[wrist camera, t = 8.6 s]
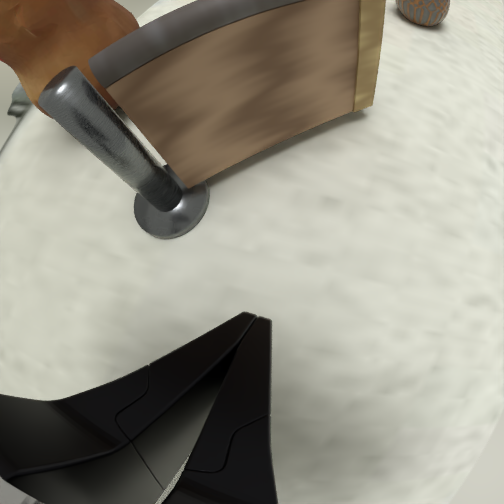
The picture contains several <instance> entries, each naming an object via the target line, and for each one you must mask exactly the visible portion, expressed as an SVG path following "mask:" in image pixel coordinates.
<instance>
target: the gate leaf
mask: <svg viewBox="0 0 504 504" xmlns="http://www.w3.org/2000/svg"><path fill="white" fill-rule="evenodd" d="M385 3H386V0H197V1H194V2H192V3H190V4H187V5H185V6H183V7H180V8H178V9H176V10H174V11H172V12H170V13H167V14H165V15H163V16H161V17H159V18H157V19H155V20H153V21H151V22H149V23H148V24H146V25H144V26H142V27H140V28H138V29H136V30H135V31H133V32H131V33H129V34H128V35H126V36H124V37H123V38H121V39H119V40H118V41H116V42H114V43H113V44H111V45H110V46H108V47H106V48H105V49H103V50H102V51H100V52H99V53H97V54H96V55H94V56H93V57H91V58H90V59H89V60H88V63H89V66H90V69H91V71H92V73H93V75H94V76H95V78H96V79H97V81H98V82H99V83H100V84H101V85H102V86H103V87H104V88H105V89H106V90H107V92H108V93H109V94H110V95H111V96H112V98H113V99H114V100H115V101H116V102H117V104H118V105H119V106H120V107H121V108H122V110H123V111H124V112H125V113H126V115H127V116H128V117H129V118H130V119H131V121H132V122H133V123H134V124H135V125H136V127H137V128H138V129H139V130H140V131H141V133H142V134H143V135H144V136H145V137H146V139H147V140H148V141H149V142H150V143H151V145H152V146H153V147H154V148H155V149H156V151H157V152H158V153H159V154H160V155H161V157H162V158H163V159H164V160H165V161H166V163H167V164H168V165H169V166H170V167H171V169H172V170H173V171H174V172H175V173H176V175H177V176H178V177H179V178H180V179H181V181H182V182H183V183H184V184H185V185H186V186H187V188H188V189H189V188H191V187H193V186H194V185H196V184H198V183H200V182H202V181H204V180H206V179H207V178H209V177H211V176H213V175H215V174H217V173H219V172H221V171H223V170H225V169H227V168H229V167H231V166H232V165H234V164H236V163H238V162H240V161H242V160H244V159H246V158H248V157H251V156H253V155H255V154H257V153H259V152H261V151H263V150H265V149H267V148H269V147H271V146H273V145H276V144H278V143H280V142H282V141H284V140H286V139H289V138H291V137H293V136H295V135H298V134H300V133H302V132H304V131H307V130H309V129H311V128H313V127H316V126H318V125H320V124H323V123H325V122H328V121H330V120H332V119H335V118H337V117H340V116H342V115H345V114H347V113H350V112H352V111H353V112H357V111H359V110H362V109H364V108H367V107H370V106H372V105H373V99H374V93H375V87H376V81H377V74H378V67H379V60H380V52H381V44H382V35H383V25H384V15H385Z"/></svg>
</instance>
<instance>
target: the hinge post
mask: <svg viewBox="0 0 504 504" xmlns="http://www.w3.org/2000/svg"><path fill="white" fill-rule="evenodd" d="M38 104H39V106H40V107H42V108H43V109H44V110H45V111H46V112H47V113H48V114H49V115H50V116H51V117H52V118H54V119H55V120H56V121H57V122H58V123H59V124H60V125H61V126H62V127H63V128H65V129H66V130H67V131H68V132H69V133H70V134H71V135H72V136H73V137H75V138H76V139H77V140H78V141H79V142H80V143H81V144H82V145H84V146H85V147H86V148H87V149H88V150H89V151H90V152H91V153H93V154H94V155H95V156H96V157H97V158H98V159H99V160H101V161H102V162H103V163H104V164H105V165H106V166H107V167H109V168H110V169H111V170H112V171H113V172H114V173H115V174H117V175H118V176H119V177H120V178H121V179H122V180H123V181H125V182H126V183H127V184H128V185H129V186H130V187H132V188H133V189H134V190H135V191H136V192H137V194H136V197H135V202H134V214H135V218H136V220H137V222H138V224H139V225H140V227H141V228H142V229H144V230H145V231H146V232H148V233H149V234H151V235H152V236H154V237H157V238H161V239H171V238H176V237H179V236H181V235H183V234H185V233H187V232H188V231H190V230H191V229H192V228H194V227H195V226H196V225H197V224H198V222H199V221H200V220H201V219H202V217H203V215H204V214H205V211H206V209H207V206H208V202H209V188H208V185H207V182H206V180H204V181H202V182H200V183H198V184H196V185H194V186H193V187H191V188H189V189H188V188H187V186H186V185H185V184H184V183H183V182H182V181H181V179H180V178H179V177H178V176H177V175H176V173H175V172H174V171H173V170H172V169H171V167H170V166H169V165H168V164H167V165H164V166H162V165H161V164H160V163H159V162H158V161H157V159H156V158H155V157H154V156H153V155H152V154H151V153H150V151H149V150H148V149H147V148H146V147H145V146H144V145H143V143H142V142H141V141H140V140H139V139H138V138H137V136H136V135H135V134H134V133H133V132H132V131H131V130H130V128H129V127H128V126H127V125H126V124H125V123H124V121H123V120H122V119H121V118H120V117H119V116H118V114H117V113H116V112H115V111H114V110H113V109H112V108H111V106H110V105H109V104H108V103H107V102H106V101H105V99H104V98H103V97H102V96H101V95H100V94H99V92H98V91H97V90H96V89H95V88H94V87H93V85H92V84H91V83H90V82H89V81H88V79H87V78H86V77H85V76H84V75H83V74H82V72H81V71H80V70H79V69H78V68H77V67H76V66H70V67H67V68H65V69H64V70H62V71H61V72H59V73H58V74H57V75H56V76H55V77H54V78H52V79H51V81H50V82H49V83H48V84H47V85H46V86H45V88H44V89H43V91H42V92H41V94H40V96H39V99H38Z"/></svg>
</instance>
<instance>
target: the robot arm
mask: <svg viewBox="0 0 504 504" xmlns="http://www.w3.org/2000/svg"><path fill="white" fill-rule="evenodd" d="M271 373H272V320H271V319H268V318H264V317H261V316H259V317H258V316H257V315H255V314H252V313H249V312H242V313H240V314H239V315H237V316H235V317H233V318H232V319H230V320H228V321H226V322H225V323H223V324H221V325H219V326H218V327H216V328H214V329H212V330H211V331H209V332H207V333H205V334H203V335H202V336H200V337H198V338H196V339H194V340H193V341H191V342H189V343H187V344H185V345H183V346H182V347H180V348H178V349H176V350H174V351H172V352H171V353H169V354H167V355H165V356H163V357H161V358H159V359H157V360H156V361H154V362H152V363H150V364H149V365H146V366H144V367H142V368H140V369H138V370H136V371H134V372H132V373H130V374H128V375H126V376H124V377H121V378H119V379H117V380H114V381H112V382H109V383H107V384H104V385H101V386H99V387H96V388H93V389H90V390H87V391H84V392H82V393H79V394H76V395H73V396H70V397H67V398H63V399H59V400H51V401H42V400H34V399H27V398H20V397H14V396H8V395H3V394H0V504H155V503H156V501H157V500H158V499H159V497H160V496H161V495H162V493H163V492H164V490H165V489H166V487H167V486H168V485H169V483H170V482H171V480H172V479H173V478H174V476H175V475H176V473H177V472H178V470H179V469H180V467H181V466H182V465H183V463H184V462H185V460H186V459H187V457H188V456H189V454H190V453H191V454H190V456H189V459H188V461H187V463H186V465H185V467H184V471H183V472H182V474H181V476H180V478H179V480H178V482H177V483H176V485H175V487H174V488H173V490H172V491H171V492H170V494H169V495H168V496H167V497H166V499H165V500H164V501H163V502H162V504H278V499H277V492H276V485H275V478H274V471H273V463H272V453H271V416H270V414H271ZM191 451H192V452H191Z"/></svg>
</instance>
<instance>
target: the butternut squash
mask: <svg viewBox="0 0 504 504" xmlns="http://www.w3.org/2000/svg"><path fill="white" fill-rule="evenodd" d="M138 28H140V27H139V24H138V22H137V21H136V19H135V17H134V16H133V15H132V13H130V12H129V11H128V10H127V9H125V8H124V7H123V6H121V5H120V4H118V3H117V2H115V1H114V0H0V60H1V61H2V62H4V63H6V64H7V65H9V66H10V67H11V68H12V69H13V70H14V72H15V73H16V74H17V76H18V78H19V80H20V82H21V84H22V87H23V88H24V90H25V92H26V94H27V96H28V97H29V99H30V100H31V102H32V103H33V104H34V105H35V106H36V107H37V108H38V109H39V110H40V111H41V112H42V113H44V114H45V115H47V116H49V117H50V118H52V117H51V116H50V115H49V114H48V113H47V112H46V111H45V110H44V109H43V108H42V107H40V106H39V104H38V99H39V96H40V94H41V92H42V91H43V89H44V88H45V86H46V85H47V84H48V83H49V82H50V81H51V79H52V78H54V77H55V76H56V75H57V74H58V73H59V72H61V71H62V70H64V69H65V68H67V67H70V66H76V67H77V68H78V69H79V70H80V71H81V72H82V74H83V75H84V76H85V77H86V78H87V79H88V81H89V82H90V83H91V84H92V85H93V87H94V88H95V89H96V90H97V91H98V92H99V94H100V95H101V96H102V97H103V98H104V99H105V101H106V102H107V103H108V104H109V105H110V106H111V108H112V109H113V110H114V109H117V108H118V107H119V105H118V104H117V102H116V101H115V100H114V99H113V98H112V96H111V95H110V94H109V93H108V92H107V90H106V89H105V88H104V87H103V86H102V85H101V84H100V83H99V82H98V81H97V79H96V78H95V76H94V75H93V73H92V71H91V69H90V66H89V63H88V60H89V59H90V58H91V57H93V56H94V55H96V54H97V53H99V52H100V51H102V50H103V49H105V48H106V47H108V46H110V45H111V44H113V43H114V42H116V41H118V40H119V39H121V38H123V37H124V36H126V35H128V34H129V33H131V32H133V31H135V30H136V29H138ZM53 119H54V118H53Z"/></svg>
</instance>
